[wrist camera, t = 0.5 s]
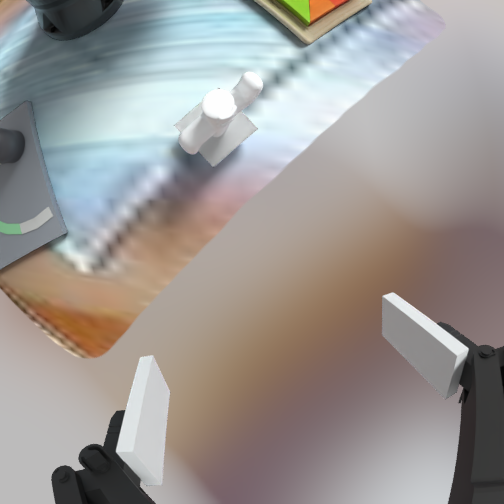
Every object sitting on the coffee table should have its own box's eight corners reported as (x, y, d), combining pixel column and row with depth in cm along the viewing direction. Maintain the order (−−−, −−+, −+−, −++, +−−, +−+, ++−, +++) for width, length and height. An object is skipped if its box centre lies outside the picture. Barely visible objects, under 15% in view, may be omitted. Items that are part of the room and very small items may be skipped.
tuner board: (-36, 157, 30) (-42, 157, 28) (31, 102, 31) (25, 100, 29) (-3, 271, 36) (-8, 274, 34) (68, 232, 37) (63, 234, 35)
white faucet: (170, 135, 36) (149, 113, 22) (224, 90, 35) (233, 45, 21) (207, 173, 38) (206, 172, 24) (259, 127, 37) (289, 102, 23)
